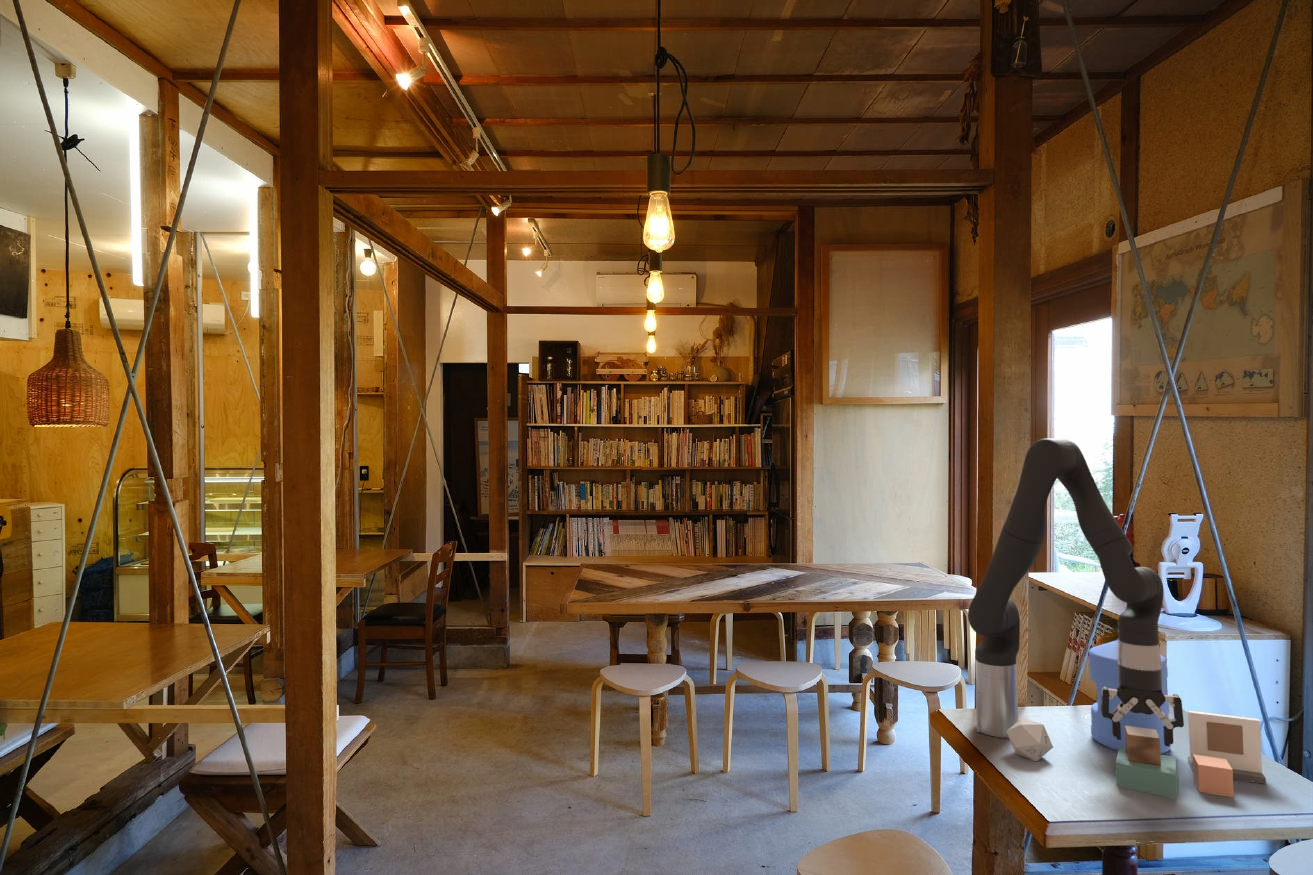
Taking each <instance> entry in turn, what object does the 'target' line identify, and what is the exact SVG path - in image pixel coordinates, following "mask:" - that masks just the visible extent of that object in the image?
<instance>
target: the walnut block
mask: <svg viewBox="0 0 1313 875" xmlns="http://www.w3.org/2000/svg"><path fill="white" fill-rule="evenodd" d="M1125 740H1126V753H1127V757H1128V760H1129V761H1131V762H1137V763H1144V764H1150V765H1157V766H1161V755H1162V754H1161V755H1160V738H1159V736H1158V733H1157V731H1156V730H1155V729H1147V728H1140V727H1132V726H1125Z"/></svg>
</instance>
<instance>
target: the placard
mask: <svg viewBox="0 0 1313 875" xmlns="http://www.w3.org/2000/svg"><path fill="white" fill-rule="evenodd" d="M1187 712H1188V717H1187V718H1188V737H1189V738H1188V742H1189V756H1187V762H1188V764H1189V766H1190V768H1191V770H1192V771H1193V754H1195V755H1201V756H1208V757H1215V758H1222V759H1226V760H1227V762H1228V763H1229V765H1230V766H1231V768H1232V769H1233V780H1237V779H1240V780H1239V781H1244V780H1245V782H1250V781H1254V782H1253V783H1257V782H1259V783H1258V784H1264V783H1266V784H1267V779H1266V776H1265V775H1264V773H1263V764H1262V762H1263V761H1262V738H1261V736H1262V734H1261V720H1260V719H1259V718H1253V717H1244V716H1237V715H1236V716H1235V715H1230V714H1229V715H1228V714H1219V713H1212V712H1202V711H1194V710H1188V711H1187ZM1246 780H1247V781H1246Z"/></svg>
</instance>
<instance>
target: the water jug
mask: <svg viewBox="0 0 1313 875" xmlns="http://www.w3.org/2000/svg"><path fill="white" fill-rule="evenodd" d="M1118 643H1119V637H1117V639H1116V640H1113V641H1110V642H1106V643H1103V644H1099V645H1096V646H1094V647H1091V648H1090V649H1089V651H1088V656H1089V657H1088V669H1089V678H1090V680H1091V681H1092V682H1094V683H1095V686H1096V688H1097V689H1096V691H1097V692H1096V693H1097V701H1096V702H1095V703H1093V704H1091V707H1090V715H1091V716H1090V717H1091V718H1090V719H1091V724H1090V733H1091V734H1090V735H1091V737H1092V738H1093V739H1094V740H1095V741H1096V742H1097V743H1099V744H1101V745H1102V746H1104V747H1107V748H1109V749H1113V750H1115V751H1119V746H1120V747H1125V748H1126V740H1125V726H1132V727H1140V728H1147V729H1155V730H1156V731H1157V733H1158V736H1159V738H1160V754H1161V755H1164V754H1166V753H1167V752H1168V751H1170V749H1171V745H1172V744H1170V747H1167V746H1165V744H1164V731H1163V725H1164V723H1163V722H1162V721H1161V720H1160V719H1159V718H1158V717H1157V715H1156V714H1155V713H1153V714H1151V715H1147V714H1144V713H1133V712H1132V711H1130V710H1129V712H1128V713H1127V714H1126V715H1124V716H1123V717H1122V718H1121V719H1120V720H1119V721H1120V727H1121V740H1117V738H1116V737H1114V735H1113V733H1112V720H1110V719H1109V718H1105V717H1103V716H1102V712H1101V692H1102V687H1103V686H1106V687H1107V688H1109V689H1116V690H1117V688H1118V686H1119V675H1118ZM1161 662H1162V666H1161V674H1162V692H1163V694H1164V695H1169V693H1168V691H1169V689H1168V677H1169V676H1168V674H1169V672H1168V669H1169V668H1168V665H1167V664H1168V663H1167V658H1166V657H1165V656H1163V655H1162V654H1161ZM1121 702H1122V701H1121V700H1120V699H1119V697H1118V696H1117V695H1115V696H1114V697H1113V699H1111V700H1110V699H1109V711H1110V712H1113V711H1114V710H1115V709H1116V708H1117V706H1118V705H1119V704H1120V703H1121ZM1160 709H1161V710H1162V711H1163V712H1164V714H1165V715H1166V716H1167V717H1168V719H1169V720H1170V718H1169V714H1170V704H1169V702H1168V701H1165V702H1164V703H1163V704H1162V705H1161V707H1160Z"/></svg>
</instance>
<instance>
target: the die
mask: <svg viewBox="0 0 1313 875" xmlns="http://www.w3.org/2000/svg"><path fill="white" fill-rule="evenodd" d="M1006 732H1007V734H1008V737H1009V738H1008V739H1009V741H1010V744H1011V745H1012V748H1013V750H1014V753H1015V754H1016V755H1018V756H1021V757H1024V758H1026V759H1028V760H1031V761H1033V762H1038V761H1039V760H1040V759H1042V757H1044V756H1046V754H1048V752H1050V751H1051V750H1052V749H1053V748H1054V746H1053V744H1052V741H1051V739H1050V736H1049V734H1048V731H1047V730H1046V728H1045V725H1044V724H1042V723H1041V722H1037V721H1034V720H1031V719H1029V718H1025V717H1021V718H1020V719H1018V722H1017V723H1016V724H1014V725H1013V726H1012V727H1011V728H1010V729H1008V730H1007V731H1006Z"/></svg>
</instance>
